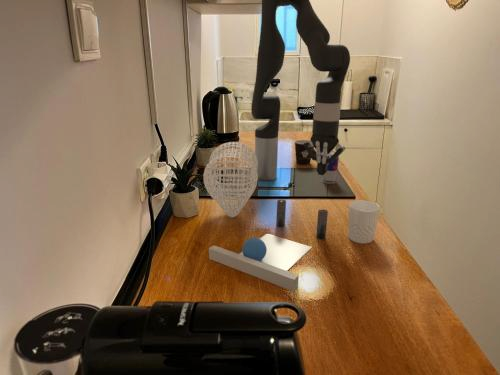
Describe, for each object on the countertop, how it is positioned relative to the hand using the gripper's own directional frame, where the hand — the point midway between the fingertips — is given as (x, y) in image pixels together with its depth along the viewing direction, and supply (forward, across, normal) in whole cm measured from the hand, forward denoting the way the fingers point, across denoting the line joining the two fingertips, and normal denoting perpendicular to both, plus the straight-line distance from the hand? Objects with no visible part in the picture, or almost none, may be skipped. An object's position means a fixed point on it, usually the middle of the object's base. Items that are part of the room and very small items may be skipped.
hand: (321, 174), depth 116 cm
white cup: (+14, +16, -7) cm, 23 cm away
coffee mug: (+14, -29, +51) cm, 60 cm away
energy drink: (+14, -10, +33) cm, 37 cm away
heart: (+14, -22, -16) cm, 31 cm away
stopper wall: (+14, 0, -39) cm, 41 cm away
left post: (+14, -6, -13) cm, 20 cm away
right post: (+14, +6, -13) cm, 20 cm away
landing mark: (+14, 0, -27) cm, 30 cm away
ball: (+11, -2, -34) cm, 36 cm away
